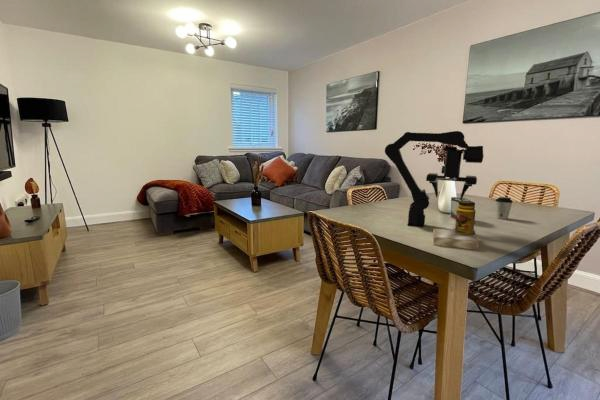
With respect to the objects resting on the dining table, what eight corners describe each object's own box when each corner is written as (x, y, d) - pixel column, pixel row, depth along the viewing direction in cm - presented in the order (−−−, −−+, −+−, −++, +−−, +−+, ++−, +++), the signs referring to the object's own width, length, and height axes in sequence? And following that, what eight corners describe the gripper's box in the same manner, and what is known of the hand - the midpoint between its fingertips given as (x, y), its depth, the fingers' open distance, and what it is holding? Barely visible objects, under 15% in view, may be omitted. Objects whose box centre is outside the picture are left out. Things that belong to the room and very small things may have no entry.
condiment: (453, 234, 108) (456, 202, 106) (453, 228, 115) (456, 198, 113) (476, 237, 105) (479, 204, 102) (474, 231, 112) (478, 200, 110)
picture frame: (433, 244, 106) (434, 236, 106) (432, 235, 117) (433, 228, 117) (478, 249, 101) (479, 241, 100) (473, 239, 112) (474, 231, 111)
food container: (475, 223, 134) (478, 201, 132) (462, 223, 134) (464, 201, 132) (461, 216, 146) (463, 196, 144) (449, 216, 146) (450, 196, 144)
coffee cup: (502, 220, 138) (505, 199, 136) (489, 217, 145) (492, 197, 143) (514, 219, 140) (517, 199, 138) (501, 216, 146) (503, 196, 144)
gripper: (478, 161, 125) (473, 197, 128) (431, 159, 134) (427, 192, 138) (479, 164, 115) (473, 202, 119) (427, 161, 124) (424, 197, 128)
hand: (448, 198), depth 126 cm, fingers open, 9 cm apart
